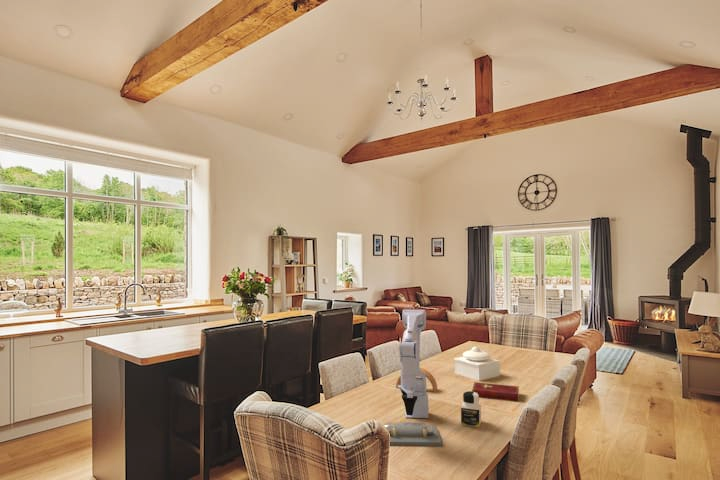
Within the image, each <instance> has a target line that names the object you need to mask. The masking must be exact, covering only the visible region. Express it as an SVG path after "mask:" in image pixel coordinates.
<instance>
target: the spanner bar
mask: <svg viewBox="0 0 720 480" xmlns="http://www.w3.org/2000/svg"><path fill="white" fill-rule="evenodd" d="M383 426H385V427H386V429H387V430H388V431H389V433H390V435H393V428H396V435H417V436H423V429H426V436H432V435H434V428H433V426H434V424H431V423H429V422H405V421H402V422H398V421H397V422H396V421H394V422H393V421H389V422H387V423H386V422H385V423H384V424H383Z"/></svg>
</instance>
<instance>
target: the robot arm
mask: <svg viewBox="0 0 720 480" xmlns="http://www.w3.org/2000/svg"><path fill="white" fill-rule="evenodd" d="M401 316H402V317H401V319H402V324H403V326H404V328H405V330H404V331H403V335H402V340H401V342H399V346H398V354H399V363H400V376H401V385H398V388H397V389H399V390H400V391H401V393H402V394H401V398H402V401H403V403H404V407H405V408H404V415H405V418H406V419H407V418H410V419H425V418H426V419H429V411H430V410H429V395H428V393H426V392H427V377H426V375H425V373H423V372H422V371H421V370H420V368H421V366H420V365H421V364H420V362H421V361H420V360H421V357H420V355H421V353H420V352H421V332H422V331H423V330H426V326H427V325H426V324H427V311H426V309H406V308H405V309H402V315H401Z"/></svg>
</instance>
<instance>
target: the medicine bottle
mask: <svg viewBox="0 0 720 480" xmlns="http://www.w3.org/2000/svg"><path fill="white" fill-rule="evenodd" d="M462 399H463V402H462V404H461V407H460V424H461V426H466V427H467V426H468V427H473V428H475V427H476V428H480V426H481V423H482V403H480V400H479V399H480V397H479V395H478V394H477V393H475V392H472V390H471V391H470V390H469V391H465V392H463V395H462Z"/></svg>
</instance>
